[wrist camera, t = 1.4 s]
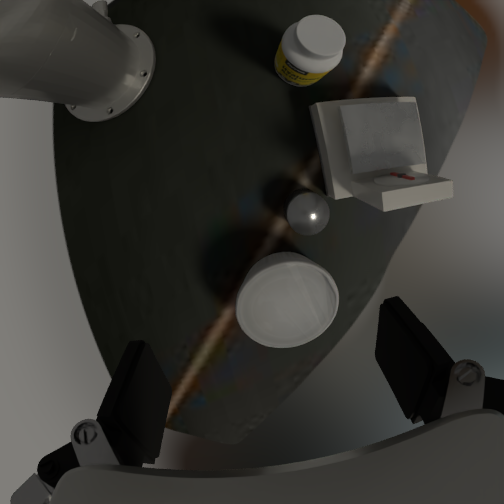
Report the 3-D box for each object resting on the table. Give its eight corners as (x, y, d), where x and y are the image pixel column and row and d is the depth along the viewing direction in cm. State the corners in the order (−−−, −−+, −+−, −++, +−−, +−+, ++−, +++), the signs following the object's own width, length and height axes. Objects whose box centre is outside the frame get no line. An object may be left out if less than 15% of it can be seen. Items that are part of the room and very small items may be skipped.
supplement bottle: (269, 82, 25) (281, 53, 16) (277, 40, 24) (291, 0, 14) (319, 93, 26) (351, 71, 17) (325, 51, 24) (356, 18, 15)
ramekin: (344, 269, 33) (358, 289, 28) (295, 334, 37) (301, 360, 32) (266, 225, 31) (270, 241, 26) (221, 301, 35) (218, 326, 30)
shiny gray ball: (280, 193, 30) (283, 198, 27) (318, 185, 30) (325, 189, 27) (287, 230, 31) (291, 239, 29) (324, 222, 31) (332, 230, 28)
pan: (334, 108, 24) (340, 105, 22) (406, 103, 23) (415, 102, 21) (346, 172, 26) (353, 174, 24) (416, 162, 25) (425, 163, 24)
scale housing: (308, 106, 26) (337, 88, 17) (402, 99, 26) (454, 89, 16) (326, 195, 30) (360, 217, 21) (415, 179, 29) (467, 195, 20)
